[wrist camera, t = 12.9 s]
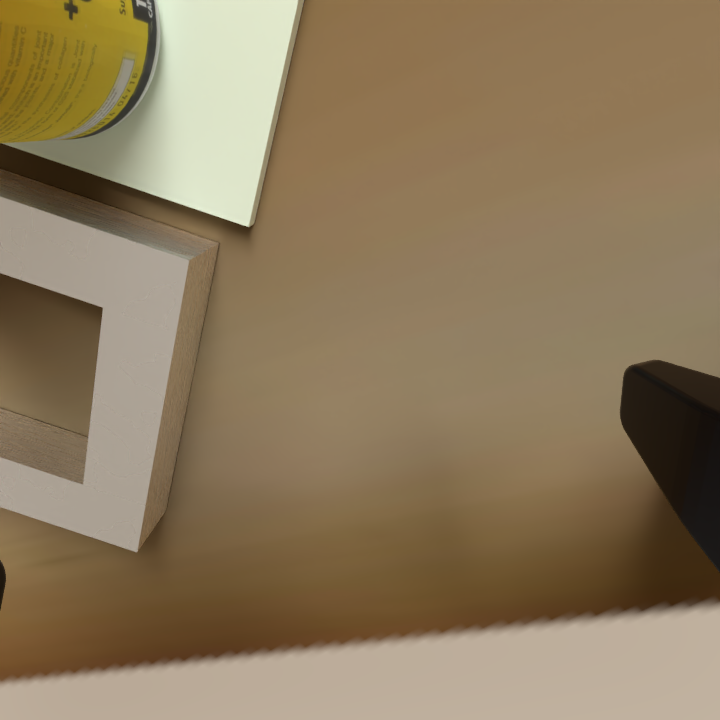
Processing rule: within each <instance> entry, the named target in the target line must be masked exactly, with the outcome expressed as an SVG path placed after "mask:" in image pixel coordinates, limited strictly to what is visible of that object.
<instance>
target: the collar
mask: <svg viewBox="0 0 720 720" xmlns="http://www.w3.org/2000/svg"><path fill="white" fill-rule="evenodd" d="M218 247H219V243H218V242H215V241H212V240H209V239H206V238H203V237H200V236H197V235H194V234H191V233H188V232H186V231H183V230H180V229H177V228H174V227H171V226H168V225H165V224H162V223H159V222H156V221H153V220H150V219H147V218H144V217H141V216H138V215H135V214H132V213H130V212H127V211H124V210H121V209H118V208H115V207H112V206H109V205H106V204H103V203H100V202H97V201H94V200H91V199H88V198H85V197H82V196H79V195H76V194H73V193H71V192H68V191H65V190H62V189H59V188H56V187H53V186H50V185H47V184H44V183H41V182H38V181H35V180H32V179H29V178H26V177H23V176H20V175H17V174H15V173H12V172H9V171H6V170H3V169H0V273H2V274H4V275H7V276H10V277H13V278H16V279H19V280H22V281H25V282H28V283H31V284H34V285H37V286H40V287H43V288H46V289H49V290H52V291H55V292H58V293H61V294H64V295H67V296H70V297H73V298H76V299H79V300H82V301H85V302H88V303H91V304H94V305H96V306H99V307H102V308H103V313H102V321H101V330H100V339H99V348H98V357H97V366H96V375H95V383H94V392H93V401H92V410H91V419H90V428H89V437H85V436H82V435H79V434H76V433H73V432H70V431H67V430H64V429H61V428H58V427H55V426H52V425H49V424H46V423H43V422H40V421H37V420H34V419H31V418H28V417H25V416H22V415H19V414H16V413H13V412H10V411H7V410H4V409H1V408H0V507H2V508H5V509H8V510H11V511H14V512H17V513H20V514H23V515H26V516H29V517H32V518H35V519H38V520H41V521H44V522H47V523H50V524H53V525H56V526H59V527H62V528H65V529H68V530H71V531H74V532H77V533H80V534H83V535H86V536H89V537H92V538H95V539H98V540H101V541H104V542H107V543H110V544H113V545H116V546H119V547H122V548H125V549H128V550H131V551H134V552H138V551H139V549H140V548H141V546H142V545H143V543H144V542H145V540H146V539H147V537H148V536H149V535H150V533H151V532H152V530H153V529H154V527H155V526H156V524H157V523H158V521H159V520H160V518H161V517H162V516H163V514H164V513H165V511H166V508H167V503H168V498H169V493H170V488H171V483H172V478H173V473H174V468H175V463H176V458H177V453H178V448H179V443H180V438H181V433H182V428H183V423H184V418H185V413H186V408H187V403H188V398H189V393H190V388H191V383H192V378H193V373H194V368H195V363H196V358H197V353H198V348H199V343H200V338H201V333H202V328H203V323H204V318H205V313H206V308H207V303H208V298H209V293H210V287H211V282H212V277H213V272H214V267H215V262H216V257H217V252H218Z"/></svg>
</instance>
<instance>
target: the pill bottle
mask: <svg viewBox="0 0 720 720" xmlns="http://www.w3.org/2000/svg"><path fill="white" fill-rule="evenodd" d="M159 48H160V19H159V9H158V3H157V0H0V143H14V142H32V141H48V140H70V139H79V138H86V137H89V136H93V135H96V134H99V133H102V132H104V131H107V130H109V129H110V128H112V127H114V126H116V125H117V124H119V123H120V122H122V121H123V120H124V119H125V118H126V117H128V116H129V115H130V114H131V112H132V111H133V110H134V109H135V108H136V107H137V106H138V104H139V103H140V101H141V100H142V99H143V97H144V95H145V93H146V92H147V90H148V88H149V85H150V83H151V81H152V78H153V76H154V72H155V69H156V65H157V61H158V55H159Z"/></svg>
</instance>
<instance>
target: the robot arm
mask: <svg viewBox="0 0 720 720" xmlns="http://www.w3.org/2000/svg"><path fill="white" fill-rule="evenodd" d="M620 418H621V422H622V425H623V428H624V430H625V432H626V433H627V435H628V437H629V438H630V440H631V441H632V443H633V445H634V446H635V448H636V450H637V451H638V453H639V455H640V456H641V458H642V459H643V461H644V463H645V464H646V466H647V468H648V469H649V471H650V473H651V474H652V476H653V477H654V479H655V481H656V482H657V484H658V486H659V487H660V489H661V491H662V492H663V494H664V496H665V497H666V499H667V500H668V502H669V504H670V505H671V507H672V508H673V510H674V511H675V513H676V514H677V516H678V518H679V519H680V520H681V522H682V523H683V525H684V526H685V527H686V529H687V530H688V531H689V533H690V534H691V536H692V537H693V538H694V539H695V541H696V542H697V543H698V545H699V546H700V547H701V549H702V550H703V551H704V552H705V554H706V555H707V556H708V558H709V559H710V560H711V562H712V563H713V564H714V566H715V567H716V568H717V569H718V571H719V572H720V378H718V377H715V376H712V375H708V374H705V373H702V372H698V371H695V370H691V369H688V368H685V367H681V366H678V365H674V364H671V363H668V362H664V361H661V360H651V361H646V362H642V363H638V364H634V365H631V366H629V367H628V368H627V369H626V370H625V372H624V377H623V386H622V396H621V406H620ZM5 582H6V574H5V569H4V566H3V564H2V562H1V561H0V609H1V604H2V599H3V593H4V588H5Z"/></svg>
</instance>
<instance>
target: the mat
mask: <svg viewBox="0 0 720 720" xmlns="http://www.w3.org/2000/svg"><path fill="white" fill-rule="evenodd" d="M157 3H158V9H159V19H160V48H159V55H158V61H157V65H156V69H155V72H154V76H153V78H152V81H151V83H150V85H149V88H148V90H147V92H146V93H145V95H144V97H143V99H142V100H141V101H140V103H139V104H138V106H137V107H136V108H135V109H134V110H133V111H132V112H131V114H130V115H129V116H128V117H126V118H125V119H124V120H123V121H122V122H120V123H119V124H117V125H116V126H114V127H112V128H110V129H109V130H107V131H104V132H102V133H99V134H96V135H93V136H89V137H86V138H79V139H70V140H48V141H32V142H14V143H2V144H5V145H8V146H11V147H14V148H17V149H20V150H23V151H26V152H29V153H32V154H35V155H38V156H41V157H43V158H46V159H49V160H52V161H55V162H58V163H61V164H64V165H67V166H70V167H73V168H76V169H79V170H82V171H85V172H88V173H91V174H94V175H96V176H99V177H102V178H105V179H108V180H111V181H114V182H117V183H120V184H123V185H126V186H129V187H132V188H135V189H138V190H141V191H144V192H147V193H149V194H152V195H155V196H158V197H161V198H164V199H167V200H170V201H173V202H176V203H179V204H182V205H185V206H188V207H191V208H194V209H197V210H200V211H202V212H205V213H208V214H211V215H214V216H217V217H220V218H223V219H226V220H229V221H232V222H235V223H238V224H241V225H244V226H247V227H250V226H251V225H253V224H254V222H255V218H256V213H257V209H258V205H259V200H260V196H261V191H262V187H263V182H264V178H265V173H266V169H267V164H268V160H269V155H270V151H271V146H272V142H273V137H274V133H275V129H276V124H277V120H278V115H279V111H280V106H281V102H282V97H283V93H284V88H285V84H286V79H287V75H288V70H289V66H290V62H291V57H292V53H293V48H294V44H295V39H296V35H297V30H298V26H299V21H300V17H301V12H302V8H303V3H304V0H157Z"/></svg>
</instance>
